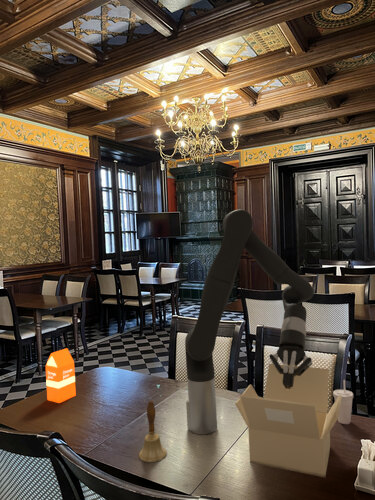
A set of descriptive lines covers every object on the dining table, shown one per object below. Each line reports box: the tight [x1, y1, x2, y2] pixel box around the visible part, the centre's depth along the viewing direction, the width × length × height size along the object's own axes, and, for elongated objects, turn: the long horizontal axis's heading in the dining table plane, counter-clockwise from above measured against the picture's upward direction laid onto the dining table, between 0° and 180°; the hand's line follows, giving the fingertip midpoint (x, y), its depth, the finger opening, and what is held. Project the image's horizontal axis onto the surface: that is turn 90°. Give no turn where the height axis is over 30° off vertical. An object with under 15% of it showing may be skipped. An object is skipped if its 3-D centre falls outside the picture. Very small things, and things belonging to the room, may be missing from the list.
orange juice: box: [45, 347, 77, 404], centre depth 161 cm, size 8×9×20 cm
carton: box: [234, 363, 342, 478], centre depth 115 cm, size 28×26×20 cm
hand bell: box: [138, 400, 168, 463], centre depth 113 cm, size 8×8×16 cm
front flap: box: [239, 394, 320, 439], centre depth 99 cm, size 18×14×1 cm
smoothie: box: [332, 379, 354, 425], centre depth 128 cm, size 6×6×14 cm
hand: (287, 387), depth 109 cm, fingers closed
